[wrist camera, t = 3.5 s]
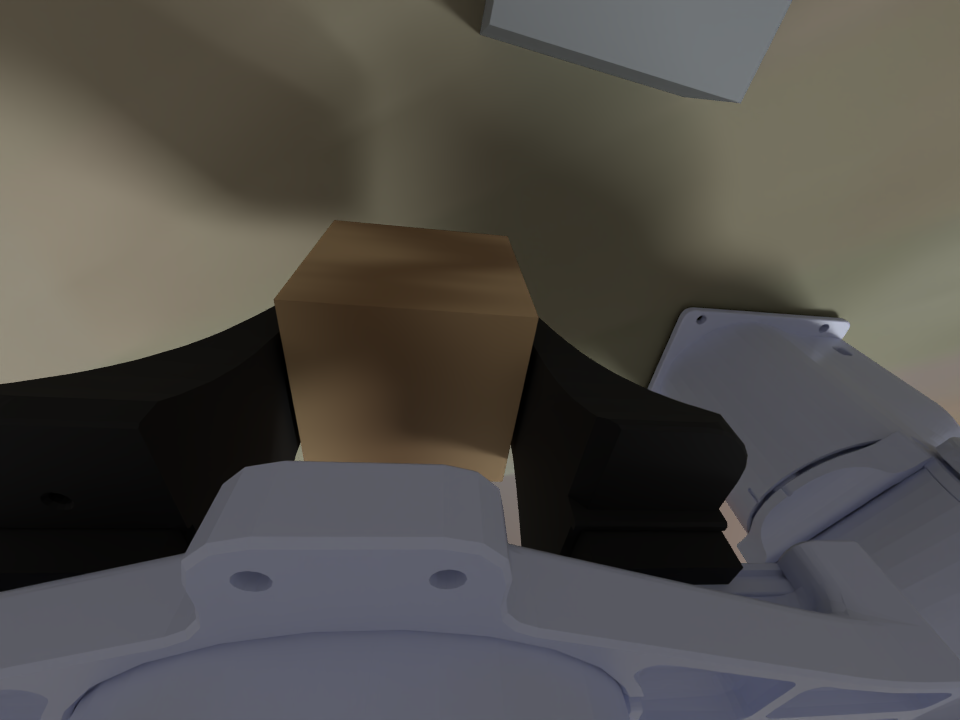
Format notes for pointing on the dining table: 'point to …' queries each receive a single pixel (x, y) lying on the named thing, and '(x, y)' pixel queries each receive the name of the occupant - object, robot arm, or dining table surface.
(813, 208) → the dining table surface
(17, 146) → the dining table surface
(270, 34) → the dining table surface
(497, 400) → the oak cube
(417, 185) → the dining table surface
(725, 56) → the slate block
